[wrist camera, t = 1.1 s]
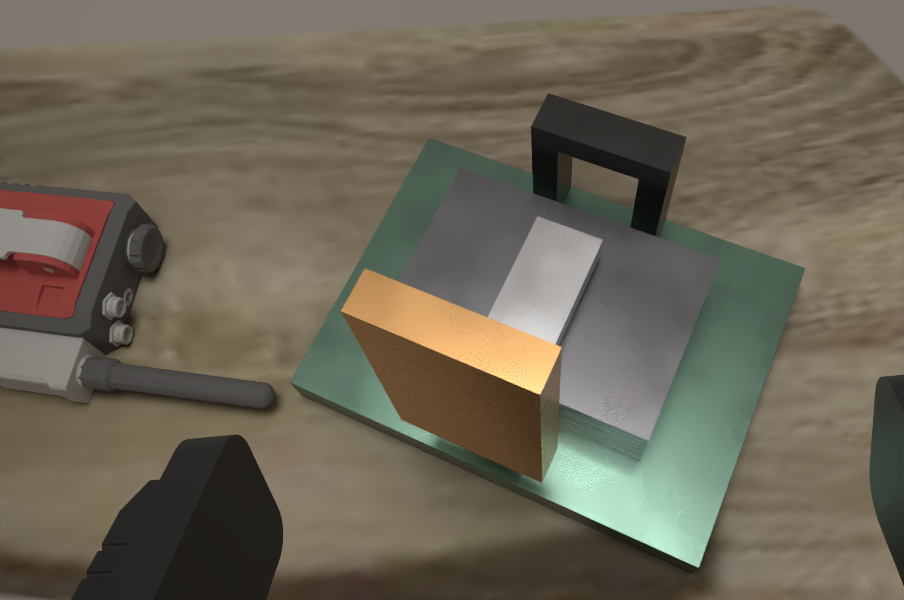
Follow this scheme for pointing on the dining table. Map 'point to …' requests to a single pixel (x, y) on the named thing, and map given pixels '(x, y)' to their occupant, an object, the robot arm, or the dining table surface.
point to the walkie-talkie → (84, 298)
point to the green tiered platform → (588, 326)
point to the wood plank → (481, 350)
